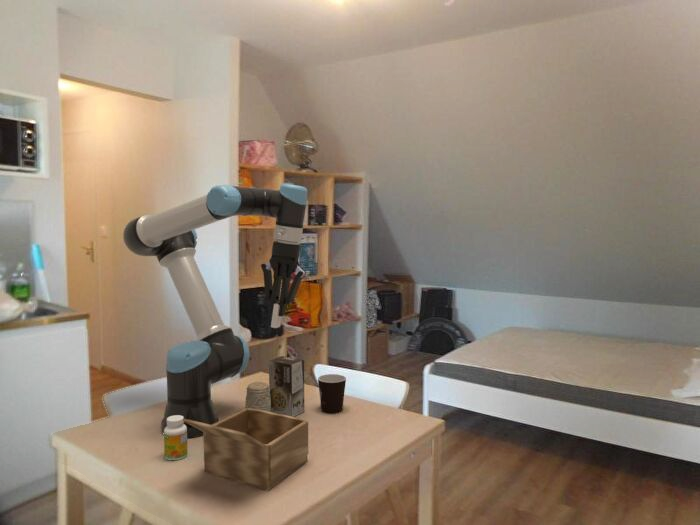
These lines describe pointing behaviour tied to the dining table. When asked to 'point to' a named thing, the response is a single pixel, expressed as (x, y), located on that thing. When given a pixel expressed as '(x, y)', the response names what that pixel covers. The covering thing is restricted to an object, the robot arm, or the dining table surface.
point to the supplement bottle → (175, 438)
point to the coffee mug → (331, 392)
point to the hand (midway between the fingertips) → (275, 326)
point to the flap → (224, 432)
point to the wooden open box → (257, 448)
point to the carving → (258, 396)
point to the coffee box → (286, 385)
